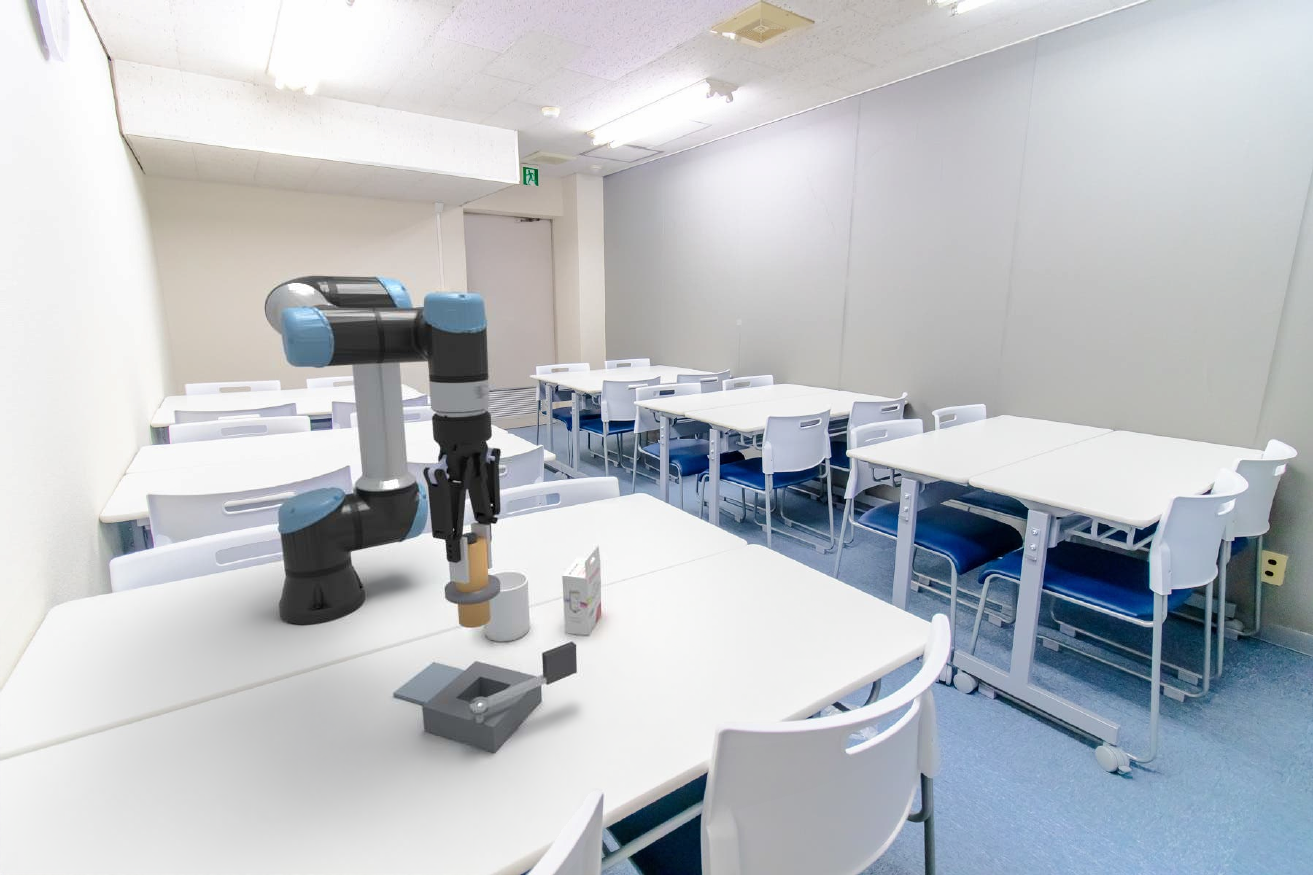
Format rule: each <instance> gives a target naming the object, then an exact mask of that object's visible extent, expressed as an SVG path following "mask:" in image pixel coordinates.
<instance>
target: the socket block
mask: <svg viewBox="0 0 1313 875" xmlns="http://www.w3.org/2000/svg"><path fill="white" fill-rule="evenodd" d="M464 670H465V671H463V672H462V673H461V674H460V675H459V676H457V677H456V678H455V679H454V680H453V681H451V682H450V683H449V684H448V685H447V686H446V687H444V688H443V689H442V690H441V691H440V692H438V693H437V694H436V695H435V696H434V697H433V698H431V699H430V700H429V701H428V702H427V703H425V704H424V705H421V710H422V719H423V721H422V722H423V730H424V732H426V733H430V734H433V735H436V736H438V737H439V736H440V737H442V738H446V739H448V740H452V741H455V742H459V743H461V744H465V745H467V746H468V745H469V746H472V747H475V748H477V749H478V748H479V749H481V750H484V751H488V752H491V753H494V754H495V753H496V752H498V750H499V749H500V748H501V747H502V746H503V745H504V744H505V742H507V740H508V739H509V738H510V737H511V736H512V735H513V733H514V732H515V731H516V730H517V729H518V727H520V726H521V724H523V722H524V721H525V720H526V719H527V718H528V717H529V715H531V713H533V711H534V710H535V709H536V708H537V707H538V706H539V705H540V703H541V702H542V701H543V697H542V696H543V694H542V685H541V686H538V687H536V688H533V689H531V690H529V691H526V692H524V693H522V694H519V695H517V696H514V697H512V698H510V699H507V700H505V701H503V702H500V703H498V704H495V705H493V706H491V707H489V709H488V711H487V712H486V713H484V714H481V715H473V714H471V712H470V702H471V700H472V699H474V698H476V697H489V696H491V695H494V694H496V693H498V692H501V691H503V690H506V689H508V688H511V687H513V686H516V685H518V684H520V683H523V682H525V681H528V680H530V679H533V678H535V677H537V676H538V675H537V676H536V675H533V674H529V673H524V672H521V671H518V670H517V671H516V670H513V669H509V668H505V667H500V666H498V665H497V666H496V665H493V664H490V663H486V662H482V661H478V660H475V661H474V662H473V663H471V664H470V665H469V666H468V667H467V668H465V669H464Z"/></svg>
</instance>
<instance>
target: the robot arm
mask: <svg viewBox="0 0 1313 875" xmlns="http://www.w3.org/2000/svg"><path fill="white" fill-rule="evenodd" d="M264 313H265V317H266V320H267V322H268V323H269V325H270V326H271V327H272V329H274V331H275V332H276V333H278V334H279V335H281V342H282V347H283V352H284V355H285V358H286V361H287V363H289V365H290V366H292V367H296V368H316V369H323V368H325V367H338V366H339V367H340V366H352V368H351V369H352V377H353V390H354V399H355V400H354V401H355V408H356V409H355V410H356V422H357V429H358V440H359V442H358V443H359V453H360V462H361V476H360V477H359V478H358V479H357V480H356V481H355V483H354V487H355V488H354V489H355V492H352V493H346V492H345V491H344V490H343V489H342V488H340V487H334V486H333V487H322V488H317V489H316V488H315V489H313V490H308V491H305V492H301V493H300V494H297V495H294V496H292V497H290V498H289V499H287V500H285V501H284V502H283V503H282V504H281V505H280V506H279V508H278V512H277V519H278V520H277V521H278V526H277V530H278V533H279V534H280V542H281V551H282V558H283V567H284V573H285V579H284V582H283V587H282V592H281V598H280V600H279V603H278V610H279V615H280V618H281V620H283V621H284V620H285V622H286V621H287V623H289V624H293V623H297V624H296V625H311V624H312V625H313V624H318V623H319V624H320V623H323V622H324V623H325V622H330V621H333V620H336V619H339V618H342V617H344V616H346V615H349V614H351V613H352V612H354V611H355V610H358V608H360V607H361V606H362V605H363V604H364V603H365V601H366V591H365V586H364V584H363V583H362V581H361V579H360V576H359V575H358V573H357V571H356V569H355V567H354V565H353V562H352V552H356V551H360V550H365V549H370V548H374V547H379V546H385V545H390V544H394V543H403V542H405V541H406V540H410V539H414V538H417V537H419V536H420V535H422V533H424V532H423V531H425V528H426V526H427V522H428V517H429V516H428V514H429V513H430V523H431V524H430V526H431V535H432V538H434V539H437V540H444V541H445V551H446V552H445V553H446V560H447V562H448V567H449V568H448V569H449V582H450V581H454V582H459V583H464V584H467V583H469V582H470V575H469V559H468V544H467V537H462V535H463V534H464V533H463V532H464V521H465V520H464V519H465V512H466V510H465V509H466V497H467V493H468V495H469V500H470V505H471V510H472V513H473V518H474V522H472V523H471V524H470V530H471V532H473V533H476V534H477V536H480V537H484V538H485V539H486V545H487V562H488V570H490V569H492V568H493V560H492V538H493V537H492V524H493V525H497V523H498V520H499V519H498V518H499V517H496V516H499V515H500V513H501V508H502V507H501V488H500V484H501V483H500V482H501V481H500V461H501V460H500V459H501V456H502V455H501V454H502V451H501V450H502V449H501V448H499V447H489V446H488V443H487V442H488V441H490V439H491V438H492V436H493V433H492V432H493V431H492V414H491V413H490V412H489V411H487V410H488V409H489V408H490V406H491V400H490V398H491V397H490V384H489V379H490V378H489V377H490V376H489V358H488V357H489V353H488V335H487V334H488V333H487V326H488V319H487V317H486V316H487V315H486V309H485V301H484V298H483V296H481V295H480V294H478V293H472V292H471V293H470V292H469V293H468V292H466V293H465V292H430V293H429V292H428V293H427V294H426V295H425V296H424V299H423V306H416V307H413V303H412V299H411V297H410V294H409V293H408V291H407V289H406V287H405V286H404V284H403V283H402V282H401V281H399V280H398V279H396V278H391V277H382V276H381V277H380V276H377V275H376V276H375V275H374V276H342V275H341V276H340V275H337V276H336V275H334V276H333V275H332V276H331V275H329V276H328V275H307V276H301V277H297V278H293V279H290V280H287V281H284V282H282V283H279V285H277V286H275V287H274V288H273V289H271V291H270V292H269V293H268V295H267V296H266V299H265V302H264ZM420 362H421V363H423V362H425V363H426V362H427V367H428V379H429V380H428V382H429V384H428V385H429V400H430V402H429V403H430V409H431V410H432V411H433V412H435V413H434V414H433V415H432V416H431V422H432V424H431V426H432V436H433V440H434V441H435V442H436V443H437V445H438V446H439V454H438V456H437V460H438V462H437V463H436V464H435V465H433V467H424V469H423V471H422V473H423V474H422V475H423V476H424V479H425V481H426V484H427V491H428V492H427V491H426V488H425V486H424V485H423V484H422V483H421V482H418V481H417V478H416V476H415V475H414V474H413V473H412V472H410V471H409V469H408V468H409V467H408V455H407V444H406V443H407V442H406V430H405V417H404V416H405V415H404V403H403V390H402V387H403V386H402V378H401V363H420ZM427 493H428V499H427ZM428 511H430V512H428ZM475 521H476V522H475Z"/></svg>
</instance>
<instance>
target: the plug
mask: <svg viewBox="0 0 1313 875" xmlns="http://www.w3.org/2000/svg"><path fill="white" fill-rule="evenodd" d="M462 537H467V544H468V559H469V575H470V582H469V583H467V584H464V583H459V582H454V581H450V580H449V581H448V583H446V585H445V586H444V598H445V600H446V601H447V602H449V603H452V604H455V605H457V614H458V615H457V616H458V624H459V625H460V626H461V627H463V628H466V629H467V628H468V629H474V628H479V627H482V626H483V627H484V625H485V624H487V623H488V622H489V621H490V619H491V615H490V599H492V598H494V597H495V596H497V595H498V594H499V592H500V589H501V588H500V580H499V579H498V578H497V577H495V576H493V575H491V574H489V569H488V562H487V545H486V539H485V538H484V537H480V536H477V534H476V533H473V532H466V533H463V535H462Z"/></svg>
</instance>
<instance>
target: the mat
mask: <svg viewBox="0 0 1313 875" xmlns="http://www.w3.org/2000/svg"><path fill="white" fill-rule="evenodd" d="M465 670H466V669H462V668H459V667H458V668H457V667H455V666H450V665H446V664H443V663H439V662H435V661H434V662H432V663H430V664H429V665H428V666H426V667H425V668H424V669H423V670H421V671H420V672H419V673H417V674H416V675H414V676H413V677H412V678H411V679H409V680H408V681H407V682H405V683H404V684H403V685H401V686H400V687H399V688H398V689H396V690H395V691H394V692H393V693H392V694H393V696H392V697H395V698H398V699H401V700H405V701H408V702H411V703H415V704H417V705H421V706H423V705H424V704H425V703H427V702H428V701H429V700H430V699H431V698H433V697H434V696H435V695H436V694H437V693H438V692H440V691H441V690H442V689H443V688H444V687H446V686H447V685H448V684H449V683H450V682H451V681H453V680H454V679H455V678H456V677H457V676H459V675H460V674H461V673H462V672H463V671H465Z"/></svg>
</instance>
